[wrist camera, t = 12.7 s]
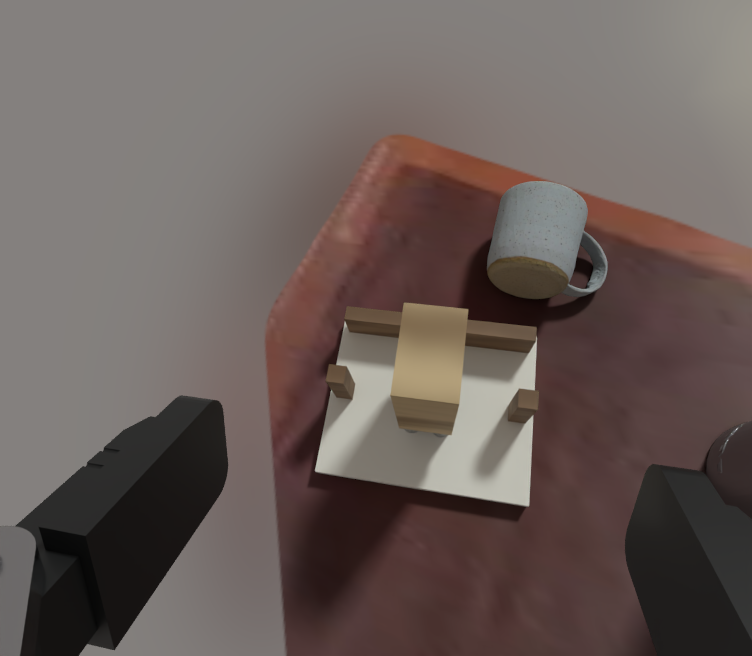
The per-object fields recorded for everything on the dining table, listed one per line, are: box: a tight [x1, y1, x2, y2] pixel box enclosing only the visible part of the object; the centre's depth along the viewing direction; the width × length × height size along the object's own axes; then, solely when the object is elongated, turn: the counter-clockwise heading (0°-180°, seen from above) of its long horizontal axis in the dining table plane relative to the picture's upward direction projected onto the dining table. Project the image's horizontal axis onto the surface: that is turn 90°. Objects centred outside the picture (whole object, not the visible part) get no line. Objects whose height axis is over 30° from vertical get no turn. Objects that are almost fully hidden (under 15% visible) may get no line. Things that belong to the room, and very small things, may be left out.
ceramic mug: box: [487, 181, 607, 299], centre depth 43 cm, size 11×8×8 cm
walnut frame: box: [326, 306, 539, 424], centre depth 40 cm, size 7×16×5 cm, turn 81°
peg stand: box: [315, 322, 537, 507], centre depth 42 cm, size 14×17×1 cm
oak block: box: [390, 303, 468, 435], centre depth 34 cm, size 6×4×10 cm, turn 171°
